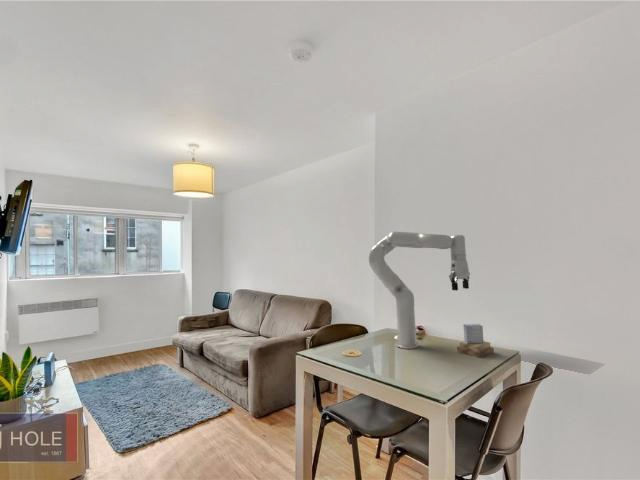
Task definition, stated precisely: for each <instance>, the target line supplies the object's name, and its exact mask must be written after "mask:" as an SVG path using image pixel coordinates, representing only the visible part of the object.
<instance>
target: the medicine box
mask: <svg viewBox="0 0 640 480" xmlns="http://www.w3.org/2000/svg"><path fill="white" fill-rule="evenodd" d="M462 326H463V337H464V340H463V341H465V342H466V343H484V342H483V341H484V332H483V331H484V330H483V329H484V328H483V327H484V326H483V325H481V323H465V324H463V325H462Z"/></svg>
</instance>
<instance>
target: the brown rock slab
mask: <svg viewBox="0 0 640 480" xmlns="http://www.w3.org/2000/svg"><path fill="white" fill-rule="evenodd" d="M483 342H484V343H466V342H465V340H463V341H460V342H459V346H457V347H456V350H457V353H459V354H463V355H467V356H471V357H475V358H479V359H481V358H483V357H486V356H488V355H492V354H494V353H495V350H494V347H493V346H491V342H489V341H485V340H483Z"/></svg>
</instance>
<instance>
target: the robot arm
mask: <svg viewBox="0 0 640 480" xmlns="http://www.w3.org/2000/svg"><path fill="white" fill-rule="evenodd" d="M396 247H397V248H407V249H408V248H410V249H411V248H412V249H439V250H448V249H449V250H450V261H451V262H450V273H449V274H448V278H449V280H450V283H451V290H452V291H458V290H459V285H458V284H459V283H458V280H462V288H463V289H465V290H467V289H469V288H470V285H469V284H470V283H469V281H470V275H471V272H470V270H469V265H468V260H467V253H466V252H467V251H466V238H465V236H464V235H462V234H455V235H447V234H435V233H434V234H433V233H422V232H407V231H391V232H389V233H388V234H387V235H386V236H385V237H384V238H383V239H381V240H380V241H378V242H377V243H376V244H374V245H373V246H372V247H371V249H370V252H369V255H368V263H369V266H370V268H371V270H372V271H373V273H375V275H376V277H377V278H378V279H379V280H380V281H381V283H382V284H383V286H384V287H385V288H386V289H387V290H388V291H389V292H390V293H391V295H392V296H393V297H394V298H395V302H396V303H395V304H396V305H395V306H396V320H397V323H396V324H397V335H395V337H394V338H393V339H394V340H396V342H395V346H396V347H397V348H399V347H400V348H399V349H405V350H409V349H412V350H413V349H417V348H420V343H419V342H418V341H417V336H416V335H417V334H416V333H417V332H416V330H417V329H416V319H415V317H416V316H415V296H414V294H413V292H412V290H411V289H409V287H408V286H407V285H406V284H405V283H404V281H403V280H402V279H401V278H400V277H399V275H398V274H397V273H395V272H394V271H393V270H392V269H391V267H390V266H389V265H388V263H387V262H386V261H385V256H387V255H388V254H389V253H390V252H392V251H393V250H394V249H395V248H396Z"/></svg>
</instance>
